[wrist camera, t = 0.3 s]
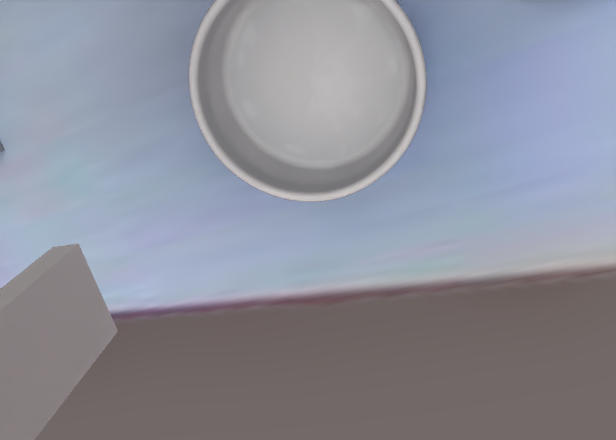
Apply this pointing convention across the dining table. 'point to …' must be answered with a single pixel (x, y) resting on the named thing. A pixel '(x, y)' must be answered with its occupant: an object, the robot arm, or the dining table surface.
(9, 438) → the robot arm
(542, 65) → the dining table surface
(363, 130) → the dog bowl
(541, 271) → the dining table surface
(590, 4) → the dining table surface
